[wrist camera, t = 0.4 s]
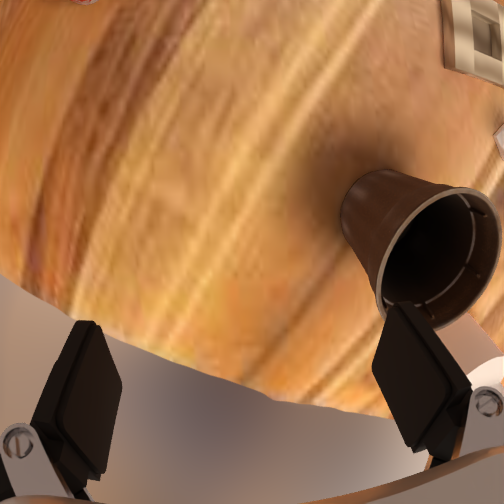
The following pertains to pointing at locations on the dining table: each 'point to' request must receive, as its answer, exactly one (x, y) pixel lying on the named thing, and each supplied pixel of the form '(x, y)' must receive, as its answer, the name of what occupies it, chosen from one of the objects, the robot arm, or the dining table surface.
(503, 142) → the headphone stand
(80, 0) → the beverage cup
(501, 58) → the socket block
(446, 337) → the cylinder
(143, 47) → the dining table surface
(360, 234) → the plant pot
